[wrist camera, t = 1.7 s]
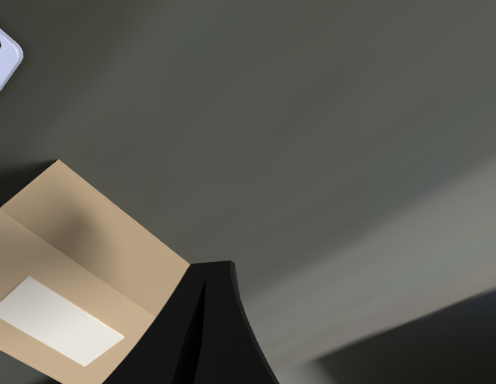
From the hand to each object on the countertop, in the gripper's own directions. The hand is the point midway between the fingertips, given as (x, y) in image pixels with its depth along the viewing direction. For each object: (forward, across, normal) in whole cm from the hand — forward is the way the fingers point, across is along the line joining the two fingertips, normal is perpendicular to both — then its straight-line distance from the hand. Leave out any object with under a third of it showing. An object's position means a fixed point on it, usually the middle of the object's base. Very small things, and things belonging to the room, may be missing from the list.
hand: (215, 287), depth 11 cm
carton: (+8, +8, +4) cm, 12 cm away
